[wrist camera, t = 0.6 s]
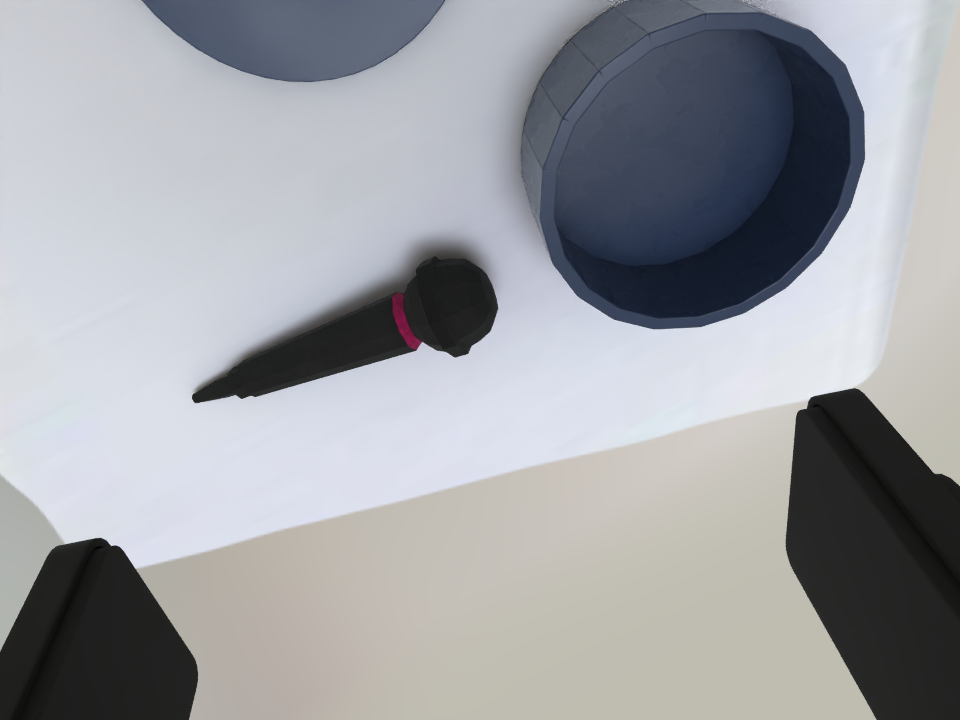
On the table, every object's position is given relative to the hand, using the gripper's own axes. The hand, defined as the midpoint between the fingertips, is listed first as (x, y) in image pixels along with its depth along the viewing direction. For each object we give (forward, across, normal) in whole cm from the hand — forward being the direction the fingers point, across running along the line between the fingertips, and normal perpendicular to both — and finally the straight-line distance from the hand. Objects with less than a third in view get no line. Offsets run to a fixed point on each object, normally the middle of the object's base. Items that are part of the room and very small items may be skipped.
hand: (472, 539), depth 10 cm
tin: (+32, -12, +7) cm, 35 cm away
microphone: (+32, +8, +14) cm, 36 cm away
